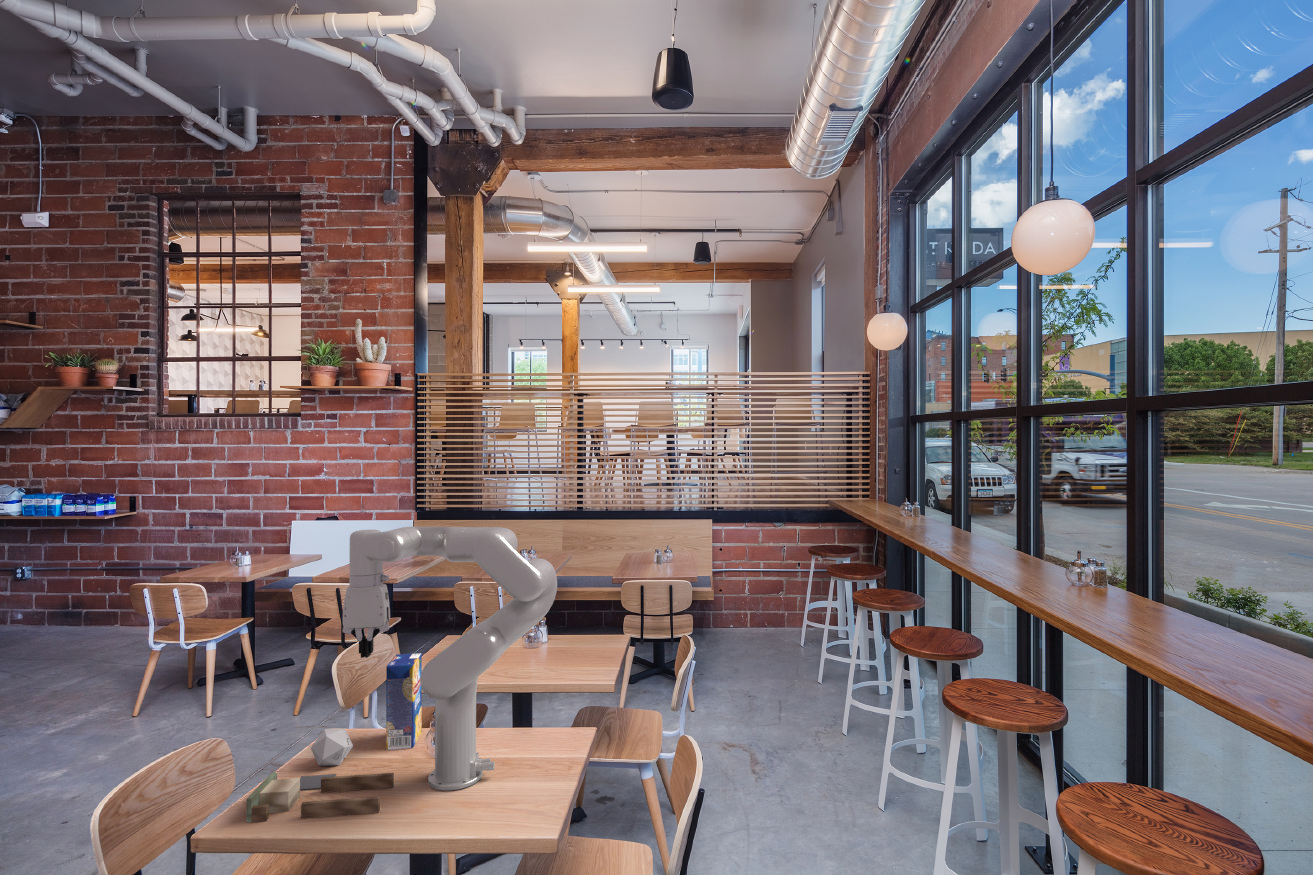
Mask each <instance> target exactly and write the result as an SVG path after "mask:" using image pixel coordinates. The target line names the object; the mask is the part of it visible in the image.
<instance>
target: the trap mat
mask: <svg viewBox="0 0 1313 875" xmlns="http://www.w3.org/2000/svg"><path fill="white" fill-rule="evenodd" d="M335 776H337V773H331V774H329V773H328V774H317V775H313V774H312V775H302V776H300V777H299V778H300V791H313V790H321V779H322V777H335Z"/></svg>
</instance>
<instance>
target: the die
mask: <svg viewBox="0 0 1313 875" xmlns="http://www.w3.org/2000/svg"><path fill="white" fill-rule="evenodd" d="M353 748H354V744H353V743H352V740H351V738H350V735H349V733H348V731H347V729H346V728H324V729H323V731H322V732H321V733H320V734H319V736H317V738H316V740H315V741H314V742H313V744H312V745H311V746H310V750H311V752H312V754H313V757H314V758H315V762H316V763H317V765H318V766H319V767H322V766H323V767H324V766H327V767H328V766H340V765H342V762H343V761H344V760H345V758H346V757H347V756H348V755H349V753H350V751H351V750H352V749H353Z"/></svg>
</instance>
